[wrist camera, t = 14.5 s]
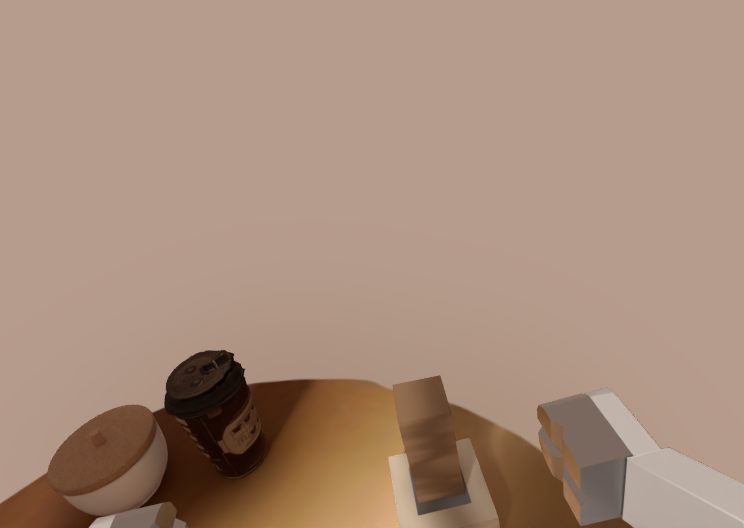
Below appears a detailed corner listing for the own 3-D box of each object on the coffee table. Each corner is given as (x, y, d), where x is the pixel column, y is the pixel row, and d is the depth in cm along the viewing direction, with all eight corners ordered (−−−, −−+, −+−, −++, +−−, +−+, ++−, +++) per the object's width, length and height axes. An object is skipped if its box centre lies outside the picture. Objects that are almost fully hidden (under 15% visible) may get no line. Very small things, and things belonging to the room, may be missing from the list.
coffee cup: (287, 422, 55) (250, 339, 49) (269, 484, 48) (223, 397, 42) (221, 429, 57) (177, 349, 50) (194, 491, 49) (139, 407, 43)
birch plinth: (410, 567, 38) (401, 540, 36) (396, 482, 45) (388, 457, 43) (502, 545, 38) (498, 517, 36) (474, 464, 45) (469, 437, 43)
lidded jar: (173, 433, 58) (139, 379, 53) (191, 491, 50) (153, 433, 45) (84, 484, 54) (39, 431, 49) (88, 558, 45) (34, 501, 41)
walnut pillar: (418, 503, 39) (398, 423, 34) (411, 462, 42) (392, 385, 37) (464, 494, 39) (451, 412, 34) (454, 454, 42) (440, 375, 37)
